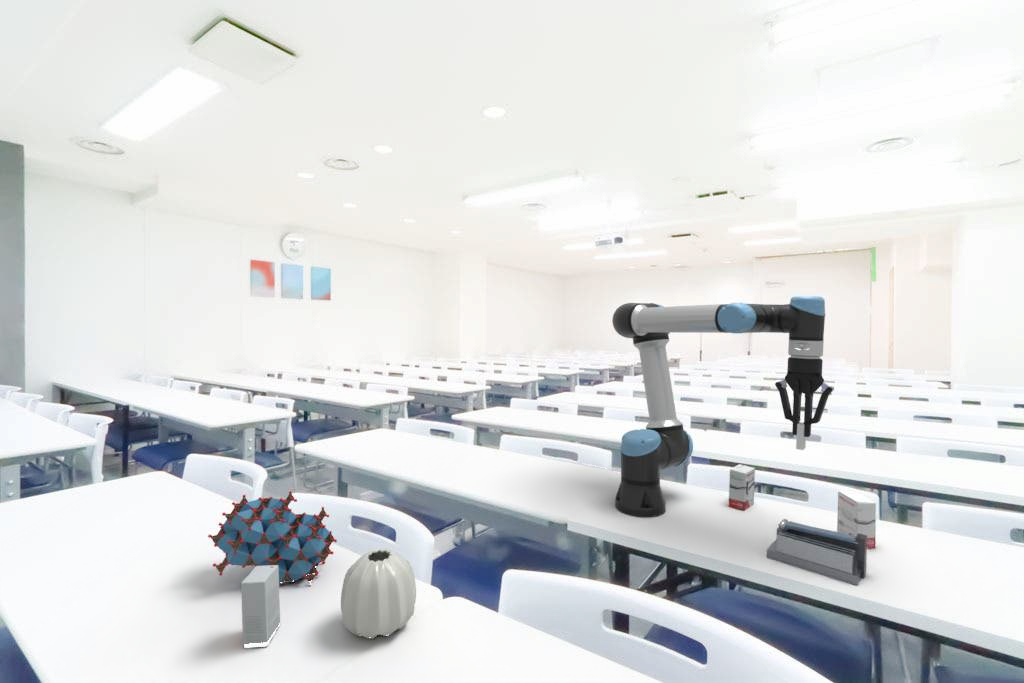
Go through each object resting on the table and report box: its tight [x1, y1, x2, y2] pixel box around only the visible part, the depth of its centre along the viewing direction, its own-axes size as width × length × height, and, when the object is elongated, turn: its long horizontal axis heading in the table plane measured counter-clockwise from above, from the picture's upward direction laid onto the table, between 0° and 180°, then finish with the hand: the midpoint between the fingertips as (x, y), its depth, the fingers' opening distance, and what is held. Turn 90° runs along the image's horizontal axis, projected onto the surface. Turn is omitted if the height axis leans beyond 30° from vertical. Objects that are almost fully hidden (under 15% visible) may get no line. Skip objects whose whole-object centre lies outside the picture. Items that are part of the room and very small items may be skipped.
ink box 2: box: [836, 490, 877, 549], centre depth 124 cm, size 9×5×12 cm, turn 175°
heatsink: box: [766, 520, 868, 586], centre depth 113 cm, size 19×12×9 cm, turn 46°
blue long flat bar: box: [777, 518, 855, 543], centre depth 113 cm, size 15×4×1 cm, turn 46°
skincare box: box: [240, 565, 281, 645], centre depth 86 cm, size 6×4×12 cm
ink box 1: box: [728, 464, 756, 511], centre depth 148 cm, size 8×5×12 cm, turn 134°
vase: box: [340, 548, 417, 639], centre depth 90 cm, size 14×14×13 cm
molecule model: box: [207, 490, 338, 583], centre depth 107 cm, size 16×14×25 cm
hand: (800, 448), depth 121 cm, fingers closed
